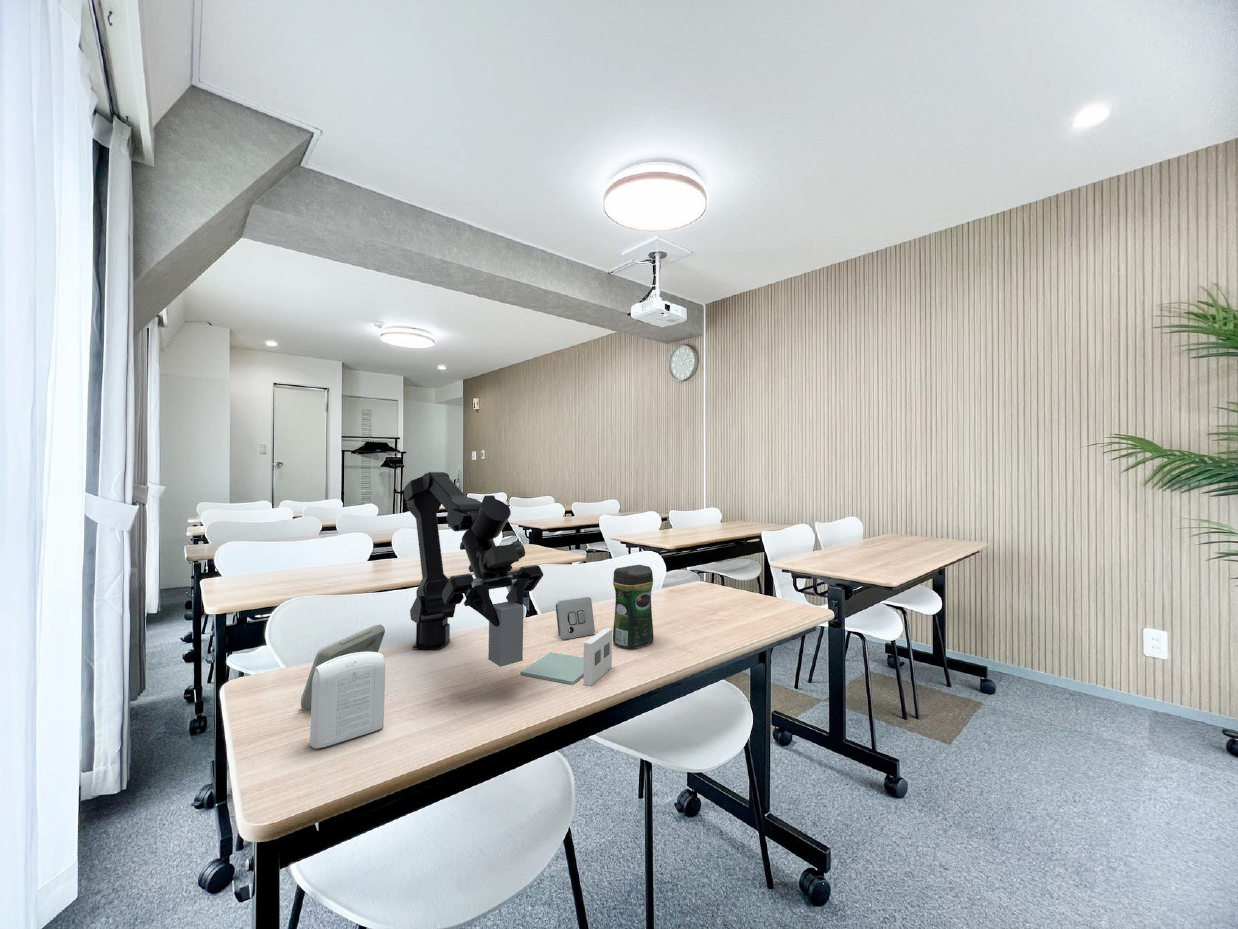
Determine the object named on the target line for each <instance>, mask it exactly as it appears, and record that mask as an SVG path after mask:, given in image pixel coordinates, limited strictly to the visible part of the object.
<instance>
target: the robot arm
mask: <svg viewBox="0 0 1238 929" xmlns="http://www.w3.org/2000/svg"><path fill="white" fill-rule="evenodd" d="M403 498H404V500H405V501H406V508H407V510H408V511H409V512H410V513H411V515H412V516H413V518H415V521H416V522H415V523H416V531H417V532H416V533H417V540H418V549H419V550H418V551H419V559H420V568H421V581H420V582H419V584H418V586H417V589H416V592H415V593H416V595H415V596H416V597H415V599H414V601H413V604H412V606H411V608H410V609H409V614H410V615H409V616H410V620H411V621H412V622H413V623H415V624H416V625H415V626H416V628H415V629H416V631H415V633H416V634H415V635H416V636H415V637H416V638H415V644H414V645H413V646H412V649H413V648H423V649H422V650H438V651H439V650H441V649H442V648H444V647H445V646H446V645H447V644H448V643H449V642H450V641H451V637H450V636H451V634H450V633H451V632H450V629H451V627H450V623H449V619H450V618H454V616H455V612H456V607H457V606H456V605H458V604H459V605H460V604H461V603H462V601H463V599H464V598H465V600H464V602H463V606H464V607H470V608H471V609H472V610H474V611H476V612H477V613H479V614H480V615H481V616H482V617H483V618H485V619H486V620H487V621H488V623H489V622H491V623H492V624H493V625H494V626H495V627H498V626H499V619H498V616H497V613H496V611H495V608H494V606H493V604H494V603H493V601H492V599H491V596H490V590H494V589H495V590H496V589H501V588H506V589H507V592H508V593H507V594H506V596H505V598H506V602H508V601H512V602H515V603H517V604H520V605H522V606H523V607H524V593H529V592H532V591H533V590H535V589H536V587H537V585H538V584H539V583H540V580H541V579H542V578H543V576H544V572H543V570H542V568H541V567H540V565H537V564H534V565H525V566H521V567H520V568H519V570H518V571H517V573H516V574H513V575H512V574H510V575H508V573H509V572H511V571H512V569H513V564H515V563H518V562H519V561H520V560H521V559H522V558H524V557H525V556H526V550H525V549H526V548H525V546H524V545H523V542H522V541H521V540H518V541H516V540H515V541H513V542H512V543H510V544H502V545H496V543H495V541H494V539H496V538H498V537H499V535H500V534H501V532H502V531H503V529H504V527H505V526H506V523H507V522H508V521H509V518H510V516H511V514H512V513H511V512H512V511H511V508H510V507H509V506H508V505H507V504H506V503H505V502H503V501H502V500H499V499H497V498H496V496H495V495H489V494H488V495H484V496H483V499H482V502H481V501H480V500H478V499H476V498H472V497H469V496H467V495H465V494H464V493H463V492H462V490H461V489H460V488H459V487H458V486H457V485H456V484H455V482H453V481H452V479H451V478H450V474H449V473H446V472H444V471H428V472H425V473H424V474H423V475H421V476H419V477H418V478H417V477H416V478H415V479H411V480H410V481H409V482H408V483H407V484H406V485H405V486H404V489H403ZM441 506H443V508H444V509H445V510H446V512H447V514H446V522H447V524H448V526H450V529H451V530H452V531H453V532H464V533H463V535H462V537H461V542H460V544H459V550H461V551H463V550H464V551H465V553H466V556H467V559H468V560H469V566H468V570H469V573H464V574H459V575H458V574H457V575H451V576H450V578H448V577H447V575H446V574H445V573H444V565H443V556H442V548H441V542H440V541H441V540H440V533H439V532H440V531H439V524H438V516H437V515H438V512H439V510H440V509H441ZM470 573H473V575H474V577H475V578H474V577H473V575H472V574H470ZM523 619H524V616H523Z"/></svg>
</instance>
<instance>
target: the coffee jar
mask: <svg viewBox="0 0 1238 929" xmlns="http://www.w3.org/2000/svg"><path fill="white" fill-rule="evenodd" d="M612 584H613V587H614V592H615V604H614V605H615V606H614V618H613V626H612V627H613V628H612V643H614V644H615V645H616V646H618V647H620V648H624V649H638V648H641V647H644V646H647V645H649V644H652V643H653V641H654V625H653V612H652V611H653V610H652V589H653V585H654V576H653V570H652V568H651V567H650V566H649V565H648V566H647V565H645V564H634V565H627V566H622V567H617V568H615V569H614V571H613V581H612Z"/></svg>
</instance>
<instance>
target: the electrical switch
mask: <svg viewBox="0 0 1238 929" xmlns="http://www.w3.org/2000/svg"><path fill="white" fill-rule="evenodd" d="M592 602H593V600H592V598H591V597H590V596H585V597H577V598H570V599H562V600H558V601H557V602H556V604H555V611H556V612H555V613H556V622H557V633H558V634H557V635H558V637H559V638H560V639H561V640H562V641H564V640H565V641H566V640H569V639H574V638H575V639H576V638H582V637H586V636H592V635H593V636H594V635H595V633H596V627H595V619H594V618H595V617H594V610H593V603H592Z"/></svg>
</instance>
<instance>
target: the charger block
mask: <svg viewBox="0 0 1238 929" xmlns="http://www.w3.org/2000/svg"><path fill="white" fill-rule="evenodd" d="M493 606H494V608H495V611H496V613H497V616H498V619H499V626H498V627H495V626H494V625H493V624H492V623H491V622H489V621H488V656H487V657H488V661H490V662H492V663H493V664H495V665H497V666H498V667H499V668H501V667H505V666H508V665H512V664H515V663H520V662H523V661H524V660H523V658H524V654H523V653H524V650H523V649H524V618H523V617H524V605H523V606H522V605H520V604H517V603H515V602H512V601H503V602H498V603H493Z"/></svg>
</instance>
